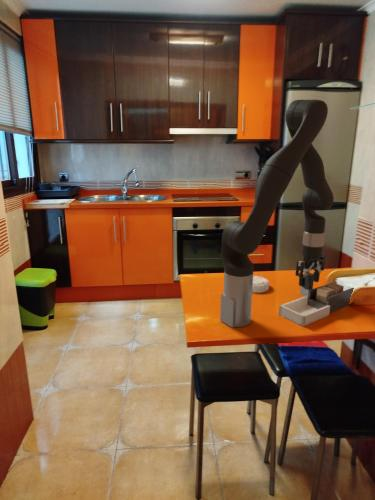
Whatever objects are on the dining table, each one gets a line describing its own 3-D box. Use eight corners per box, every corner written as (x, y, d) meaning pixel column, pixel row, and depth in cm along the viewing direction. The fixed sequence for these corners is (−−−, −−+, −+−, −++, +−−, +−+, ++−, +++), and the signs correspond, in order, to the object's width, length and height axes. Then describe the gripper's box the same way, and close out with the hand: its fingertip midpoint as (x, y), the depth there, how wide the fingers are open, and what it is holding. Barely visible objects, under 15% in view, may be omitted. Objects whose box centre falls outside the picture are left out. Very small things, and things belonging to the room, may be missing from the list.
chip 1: (325, 302, 122) (327, 292, 120) (316, 298, 125) (317, 288, 124) (332, 300, 124) (333, 289, 123) (322, 296, 127) (324, 286, 126)
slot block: (326, 314, 120) (328, 298, 118) (306, 305, 126) (308, 290, 124) (352, 303, 128) (355, 288, 127) (332, 295, 135) (334, 281, 133)
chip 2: (335, 298, 125) (337, 288, 124) (326, 295, 128) (327, 285, 127) (342, 296, 127) (343, 286, 126) (332, 292, 130) (333, 282, 129)
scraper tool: (310, 298, 132) (313, 276, 130) (299, 294, 136) (302, 272, 134) (314, 296, 134) (317, 275, 131) (303, 292, 138) (306, 271, 135)
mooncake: (274, 287, 144) (274, 279, 143) (258, 295, 135) (258, 287, 134) (250, 280, 152) (250, 272, 151) (233, 287, 143) (233, 279, 142)
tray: (302, 326, 111) (303, 316, 110) (278, 314, 119) (279, 305, 118) (329, 315, 119) (330, 306, 118) (304, 304, 127) (305, 296, 126)
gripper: (309, 248, 122) (305, 291, 127) (333, 242, 130) (328, 283, 135) (292, 244, 128) (288, 284, 133) (316, 238, 136) (312, 277, 141)
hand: (308, 283), depth 134 cm, fingers open, 8 cm apart
